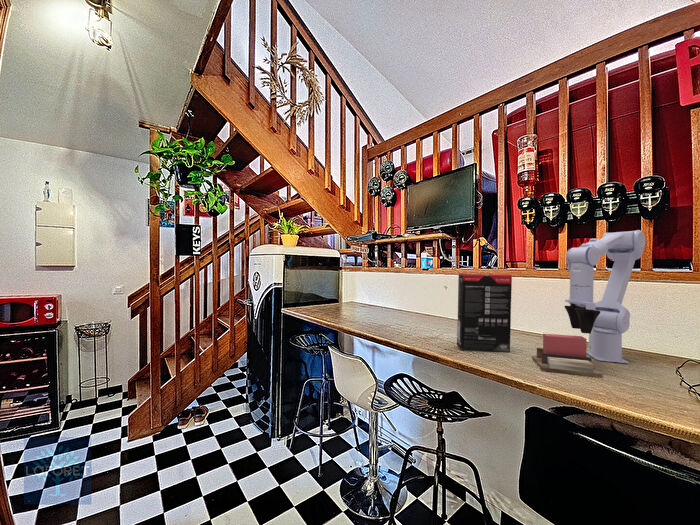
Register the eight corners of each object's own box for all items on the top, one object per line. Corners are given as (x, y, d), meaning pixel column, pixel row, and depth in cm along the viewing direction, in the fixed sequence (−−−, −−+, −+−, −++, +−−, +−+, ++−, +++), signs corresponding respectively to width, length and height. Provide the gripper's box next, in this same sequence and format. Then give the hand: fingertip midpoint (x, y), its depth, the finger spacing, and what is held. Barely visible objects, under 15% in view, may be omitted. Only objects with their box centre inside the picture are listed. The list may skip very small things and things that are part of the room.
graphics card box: (504, 347, 109) (504, 273, 109) (512, 353, 102) (512, 274, 102) (456, 346, 110) (456, 273, 110) (461, 351, 103) (461, 273, 104)
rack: (532, 358, 95) (532, 346, 96) (584, 364, 91) (584, 351, 91) (542, 371, 84) (542, 357, 84) (602, 377, 79) (602, 363, 79)
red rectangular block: (543, 359, 92) (543, 333, 92) (581, 362, 89) (581, 336, 89) (546, 362, 89) (546, 335, 89) (586, 366, 85) (586, 338, 85)
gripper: (558, 284, 98) (557, 325, 98) (574, 286, 85) (573, 334, 85) (583, 285, 96) (583, 327, 96) (604, 287, 82) (604, 336, 82)
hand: (580, 330), depth 90 cm, fingers open, 7 cm apart
